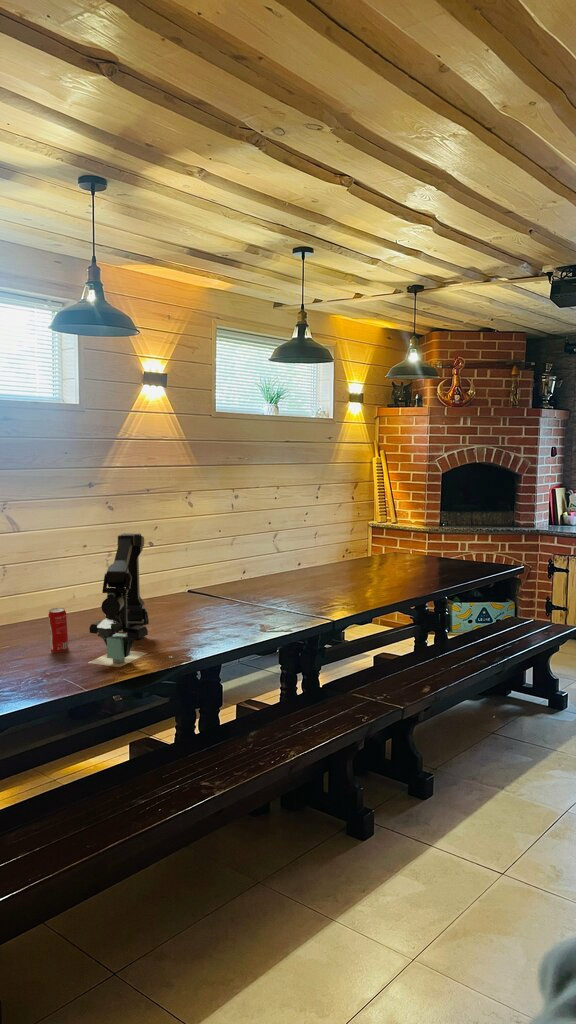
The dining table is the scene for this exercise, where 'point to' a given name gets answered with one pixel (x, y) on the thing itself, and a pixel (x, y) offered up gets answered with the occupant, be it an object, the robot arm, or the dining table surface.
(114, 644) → the teal rectangular block
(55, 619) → the beverage can
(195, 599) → the dining table surface
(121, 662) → the post
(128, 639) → the robot arm
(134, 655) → the board
